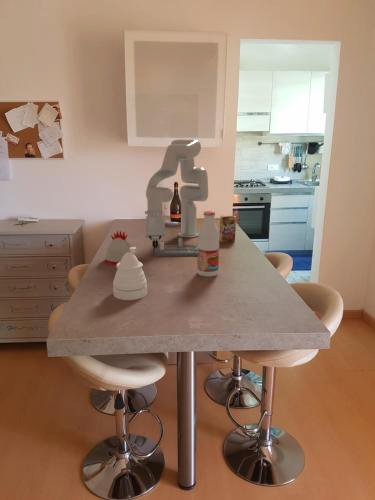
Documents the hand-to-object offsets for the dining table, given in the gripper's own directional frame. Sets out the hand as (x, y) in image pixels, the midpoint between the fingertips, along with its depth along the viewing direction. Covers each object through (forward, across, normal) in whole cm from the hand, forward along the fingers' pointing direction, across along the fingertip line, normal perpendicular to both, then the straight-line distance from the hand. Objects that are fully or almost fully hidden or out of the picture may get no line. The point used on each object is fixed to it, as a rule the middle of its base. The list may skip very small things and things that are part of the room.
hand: (155, 247), depth 204 cm
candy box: (+3, +42, +24) cm, 49 cm away
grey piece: (+3, -17, -13) cm, 22 cm away
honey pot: (+3, -9, -56) cm, 57 cm away
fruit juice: (+3, +24, -34) cm, 41 cm away
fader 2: (+1, +14, +7) cm, 15 cm away
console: (+3, +12, +2) cm, 12 cm away
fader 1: (+1, +4, 0) cm, 4 cm away
